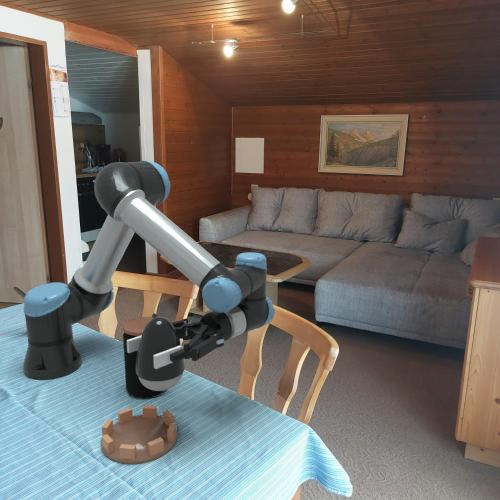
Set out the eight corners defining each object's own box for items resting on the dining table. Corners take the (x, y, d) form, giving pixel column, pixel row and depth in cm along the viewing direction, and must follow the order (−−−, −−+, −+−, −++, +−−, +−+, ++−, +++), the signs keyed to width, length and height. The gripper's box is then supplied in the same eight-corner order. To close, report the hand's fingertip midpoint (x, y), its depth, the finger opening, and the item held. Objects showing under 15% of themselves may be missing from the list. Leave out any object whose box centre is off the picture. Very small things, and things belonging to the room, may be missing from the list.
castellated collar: (89, 435, 99) (88, 422, 98) (155, 409, 109) (154, 397, 108) (120, 475, 87) (119, 460, 86) (191, 442, 97) (191, 428, 96)
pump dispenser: (178, 369, 104) (177, 306, 100) (190, 391, 94) (189, 323, 91) (133, 377, 100) (129, 312, 97) (141, 401, 91) (137, 330, 87)
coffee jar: (158, 402, 112) (155, 334, 108) (118, 397, 114) (114, 330, 110) (173, 381, 122) (171, 318, 118) (137, 376, 124) (133, 315, 121)
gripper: (255, 353, 101) (173, 391, 86) (193, 326, 116) (114, 354, 100) (256, 322, 100) (172, 354, 84) (193, 298, 115) (112, 322, 99)
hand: (140, 354), depth 92 cm, fingers closed on pump dispenser, 9 cm apart
